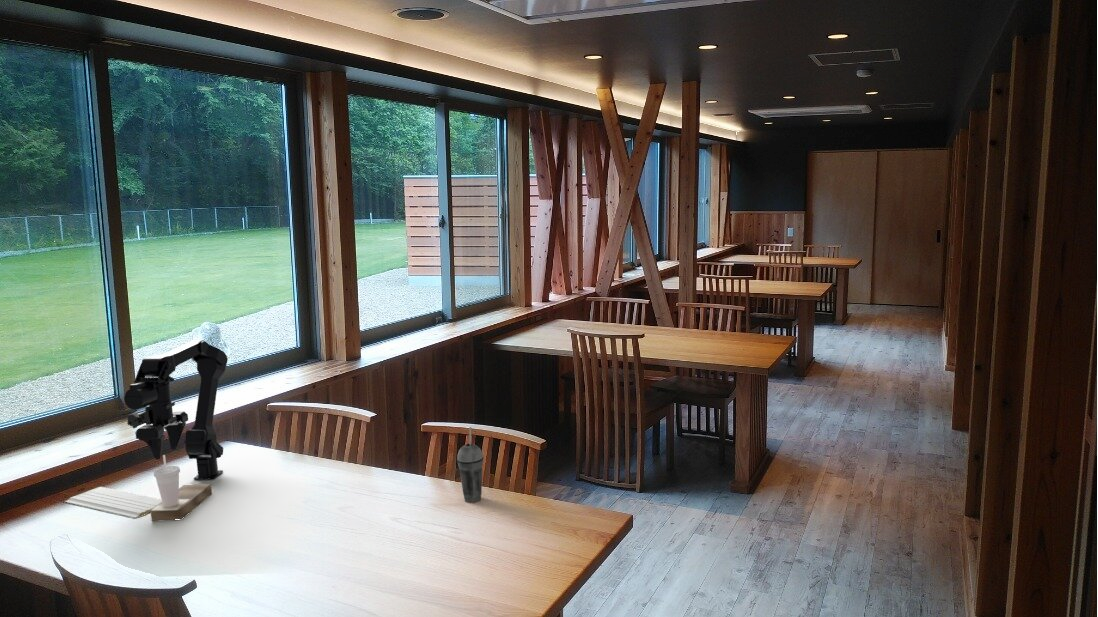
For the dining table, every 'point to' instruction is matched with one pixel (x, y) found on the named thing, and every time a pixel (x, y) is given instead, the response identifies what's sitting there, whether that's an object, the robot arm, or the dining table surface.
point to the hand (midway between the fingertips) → (165, 454)
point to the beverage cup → (471, 471)
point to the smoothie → (168, 484)
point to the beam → (182, 502)
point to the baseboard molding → (115, 501)
